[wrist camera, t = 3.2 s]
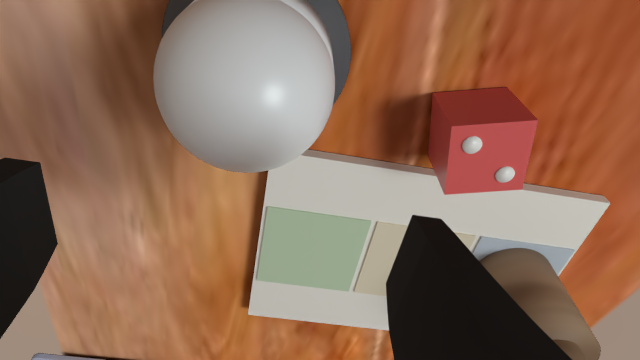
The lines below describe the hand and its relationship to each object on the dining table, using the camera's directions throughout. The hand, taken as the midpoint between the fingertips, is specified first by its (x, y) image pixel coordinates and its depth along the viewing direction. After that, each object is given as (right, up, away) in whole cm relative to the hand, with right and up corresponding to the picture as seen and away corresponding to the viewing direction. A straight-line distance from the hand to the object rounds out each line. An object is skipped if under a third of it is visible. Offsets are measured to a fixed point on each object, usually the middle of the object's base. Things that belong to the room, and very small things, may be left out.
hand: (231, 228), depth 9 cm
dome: (-1, +6, +7) cm, 9 cm away
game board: (+7, -3, +14) cm, 16 cm away
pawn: (+12, -4, +14) cm, 19 cm away
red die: (+8, +3, +10) cm, 13 cm away
